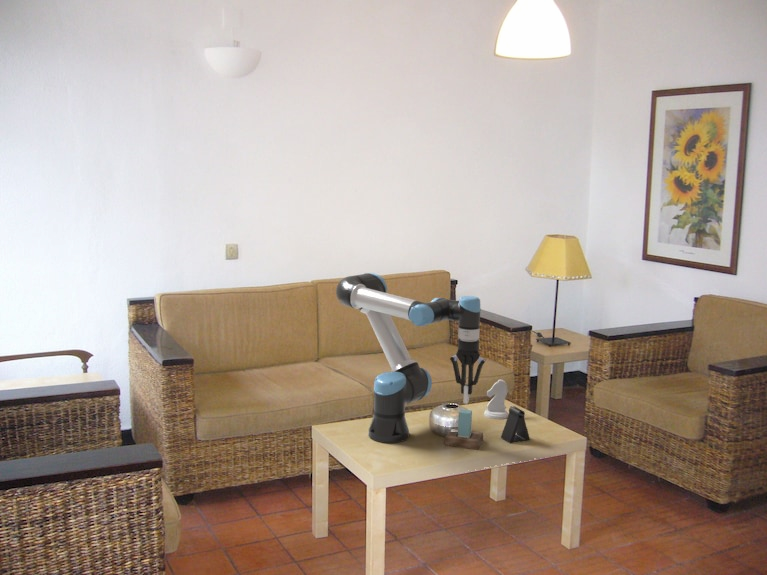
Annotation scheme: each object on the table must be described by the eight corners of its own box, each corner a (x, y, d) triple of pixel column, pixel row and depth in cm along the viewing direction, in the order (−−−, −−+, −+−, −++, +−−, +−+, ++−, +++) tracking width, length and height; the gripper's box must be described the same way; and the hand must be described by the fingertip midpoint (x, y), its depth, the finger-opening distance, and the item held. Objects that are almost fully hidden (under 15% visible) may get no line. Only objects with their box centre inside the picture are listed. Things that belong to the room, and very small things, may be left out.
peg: (457, 443, 287) (458, 412, 285) (459, 440, 291) (461, 409, 289) (468, 445, 286) (469, 413, 284) (470, 441, 290) (472, 410, 288)
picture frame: (520, 435, 298) (522, 404, 296) (529, 440, 293) (531, 409, 291) (500, 438, 294) (502, 407, 292) (509, 443, 289) (511, 412, 287)
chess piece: (482, 411, 325) (484, 376, 323) (506, 411, 326) (507, 376, 323) (485, 419, 316) (487, 383, 313) (510, 419, 316) (512, 383, 313)
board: (444, 444, 286) (445, 437, 285) (451, 436, 295) (451, 428, 295) (477, 449, 282) (477, 441, 282) (483, 440, 291) (483, 432, 291)
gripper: (448, 339, 281) (446, 403, 285) (484, 343, 277) (481, 407, 280) (453, 335, 288) (451, 397, 292) (488, 338, 284) (485, 401, 287)
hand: (466, 402), depth 286 cm, fingers closed
